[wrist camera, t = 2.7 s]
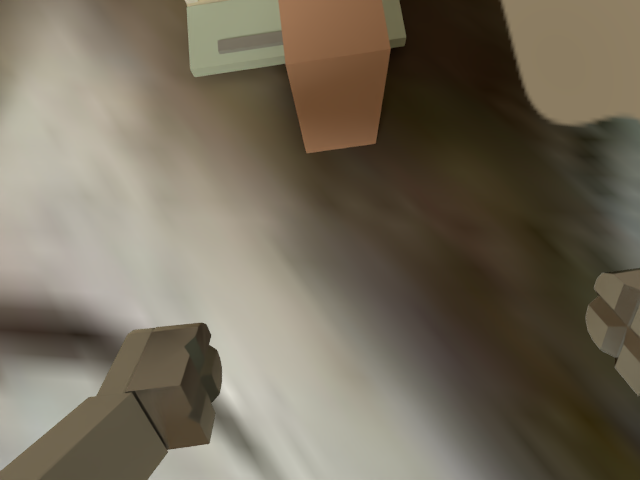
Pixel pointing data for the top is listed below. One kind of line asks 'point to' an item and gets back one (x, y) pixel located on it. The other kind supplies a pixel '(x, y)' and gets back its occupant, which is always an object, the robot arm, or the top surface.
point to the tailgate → (252, 34)
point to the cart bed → (201, 2)
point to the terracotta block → (336, 69)
